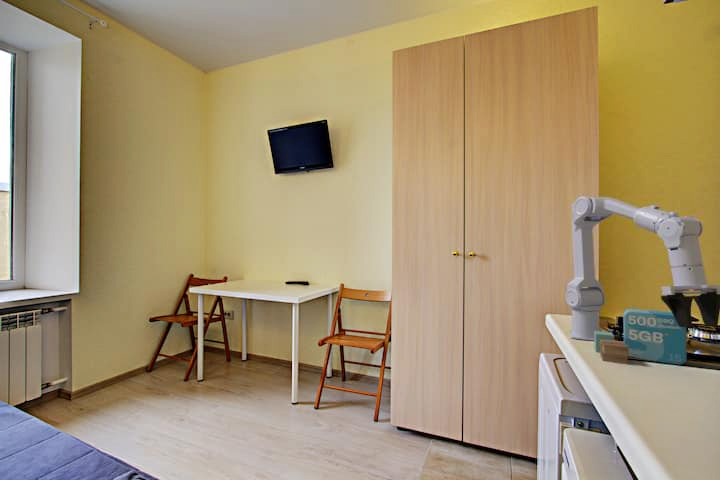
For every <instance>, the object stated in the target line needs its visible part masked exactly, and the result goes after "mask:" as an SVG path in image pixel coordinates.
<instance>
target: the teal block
mask: <svg viewBox="0 0 720 480" xmlns="http://www.w3.org/2000/svg"><path fill="white" fill-rule="evenodd" d="M600 339H601V340H612V341H615V335H614V334H613V332H610V331H601V330H599V331H594V342H593V343H594V351H595V353H599V354H601V349H600Z"/></svg>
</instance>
